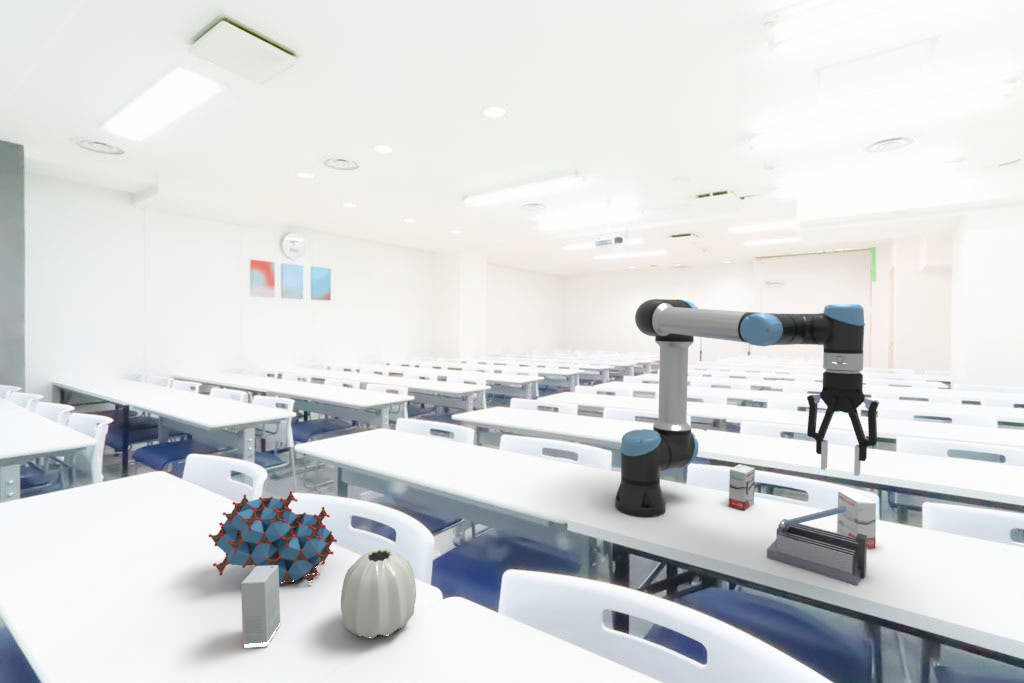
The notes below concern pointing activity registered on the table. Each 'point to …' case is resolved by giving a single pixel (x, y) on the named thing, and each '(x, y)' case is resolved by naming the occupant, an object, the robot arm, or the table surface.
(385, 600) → the vase
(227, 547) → the molecule model
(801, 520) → the blue long flat bar
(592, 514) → the table surface
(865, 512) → the ink box
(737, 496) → the ink box
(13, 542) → the table surface
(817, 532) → the heatsink
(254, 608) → the skincare box
